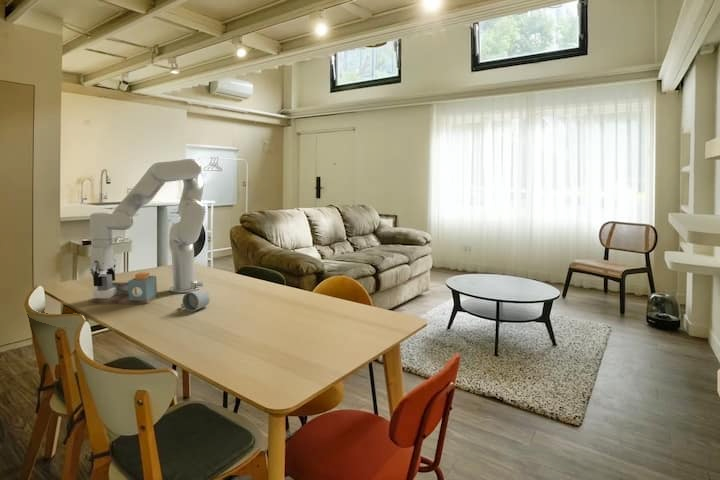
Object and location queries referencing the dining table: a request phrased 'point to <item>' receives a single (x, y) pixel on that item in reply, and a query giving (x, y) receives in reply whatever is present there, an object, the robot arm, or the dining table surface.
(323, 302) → the dining table surface
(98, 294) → the grey stepped block
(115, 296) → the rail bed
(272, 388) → the dining table surface
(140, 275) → the button
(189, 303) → the ceramic mug
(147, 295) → the gauge cabinet
